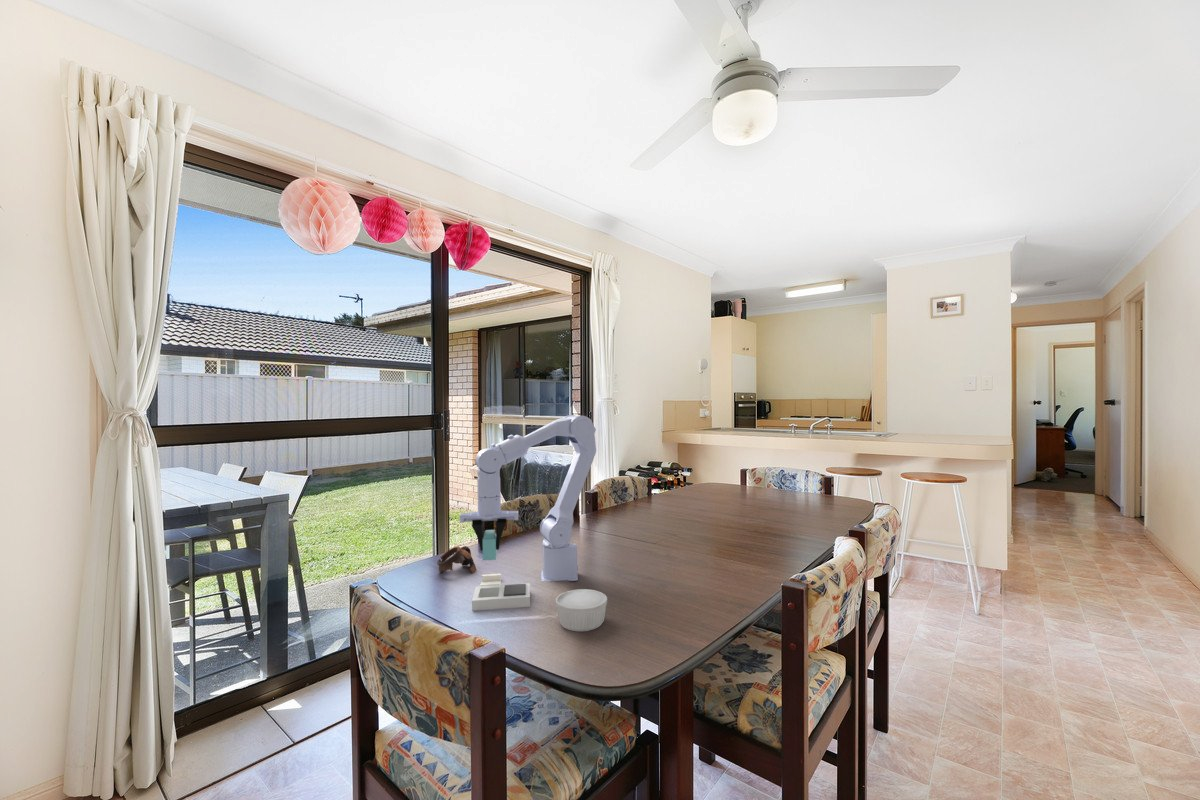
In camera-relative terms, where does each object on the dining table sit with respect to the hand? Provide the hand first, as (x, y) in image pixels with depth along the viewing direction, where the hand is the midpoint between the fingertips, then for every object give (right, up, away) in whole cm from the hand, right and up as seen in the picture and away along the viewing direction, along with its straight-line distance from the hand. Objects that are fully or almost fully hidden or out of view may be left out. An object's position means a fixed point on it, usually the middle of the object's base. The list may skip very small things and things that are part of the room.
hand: (490, 548), depth 130 cm
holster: (0, -10, 0) cm, 10 cm away
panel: (+5, -10, -10) cm, 15 cm away
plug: (0, -2, 0) cm, 2 cm away
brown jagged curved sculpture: (-11, -10, +12) cm, 19 cm away
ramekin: (+24, -10, -20) cm, 33 cm away
